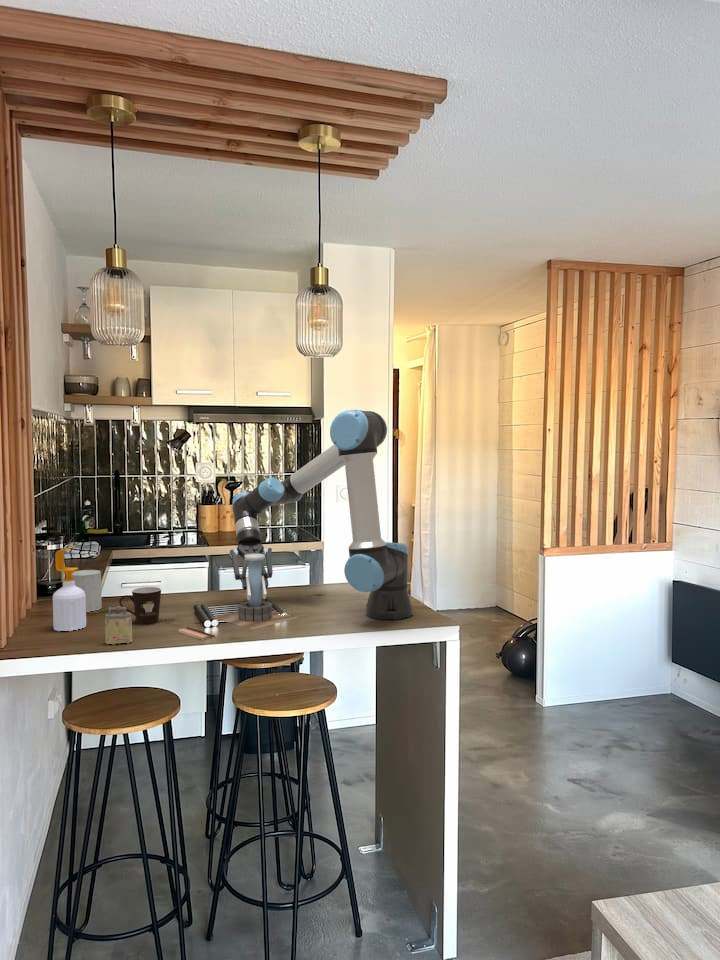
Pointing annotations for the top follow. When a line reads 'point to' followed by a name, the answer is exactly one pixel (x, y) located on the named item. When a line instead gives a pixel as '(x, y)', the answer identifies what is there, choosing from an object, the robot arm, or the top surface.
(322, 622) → the top surface
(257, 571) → the peg
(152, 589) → the coffee mug
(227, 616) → the eye plate
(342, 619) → the top surface
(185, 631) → the tile
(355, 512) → the robot arm
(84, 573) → the grey tapered cup
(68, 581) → the soap bottle
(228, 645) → the top surface
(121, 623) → the beige rectangular bottle
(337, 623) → the top surface
